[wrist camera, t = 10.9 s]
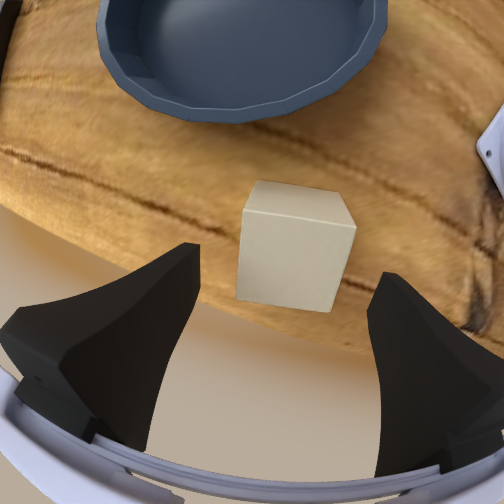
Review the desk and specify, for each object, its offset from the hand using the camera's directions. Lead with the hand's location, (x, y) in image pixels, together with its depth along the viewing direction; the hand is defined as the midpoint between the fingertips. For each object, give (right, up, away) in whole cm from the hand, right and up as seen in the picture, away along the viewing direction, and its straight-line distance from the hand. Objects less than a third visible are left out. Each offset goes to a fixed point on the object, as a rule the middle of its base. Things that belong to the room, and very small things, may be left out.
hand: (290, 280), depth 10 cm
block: (+1, +3, +5) cm, 5 cm away
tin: (-2, +13, -1) cm, 13 cm away
